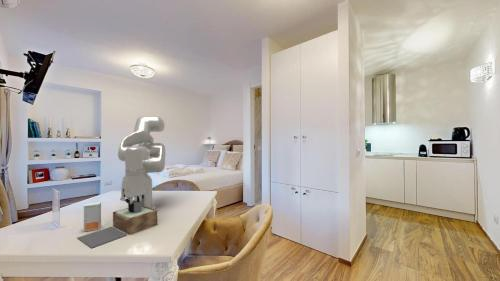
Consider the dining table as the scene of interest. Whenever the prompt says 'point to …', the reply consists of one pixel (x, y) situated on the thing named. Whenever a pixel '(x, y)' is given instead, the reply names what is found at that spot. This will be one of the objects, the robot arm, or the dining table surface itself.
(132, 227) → the walnut box
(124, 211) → the cover plate
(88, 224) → the skincare box
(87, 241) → the rubber mat
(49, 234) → the dining table surface
